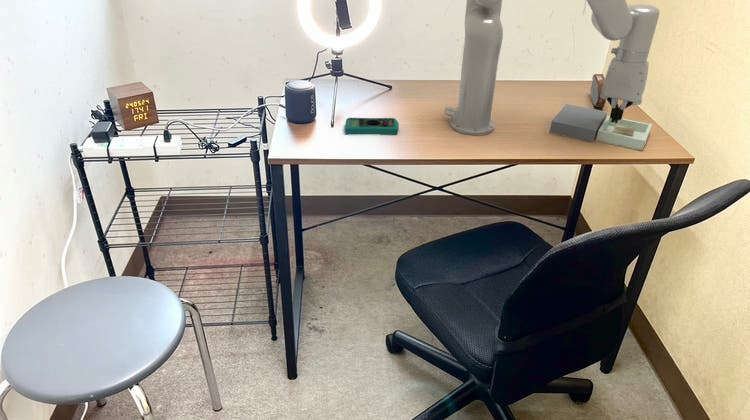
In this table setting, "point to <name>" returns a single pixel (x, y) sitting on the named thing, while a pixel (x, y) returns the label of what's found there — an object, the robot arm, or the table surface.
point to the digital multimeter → (372, 126)
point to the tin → (597, 90)
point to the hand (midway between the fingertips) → (614, 121)
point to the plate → (578, 122)
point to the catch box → (633, 142)
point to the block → (624, 130)
